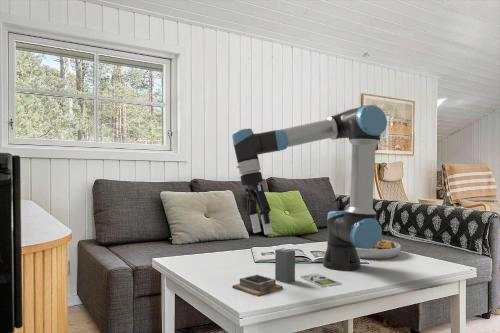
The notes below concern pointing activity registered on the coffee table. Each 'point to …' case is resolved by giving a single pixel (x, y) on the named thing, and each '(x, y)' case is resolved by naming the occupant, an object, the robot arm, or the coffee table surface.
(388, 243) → the bowl
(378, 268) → the coffee table surface
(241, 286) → the tray
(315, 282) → the handheld gaming device
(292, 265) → the block
